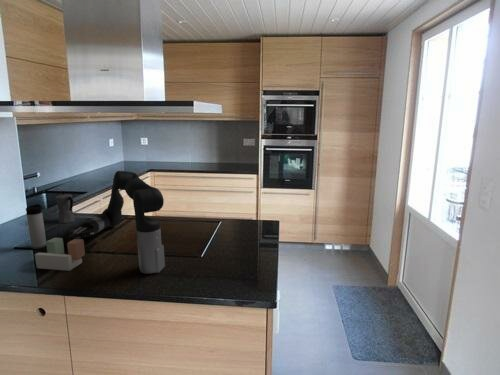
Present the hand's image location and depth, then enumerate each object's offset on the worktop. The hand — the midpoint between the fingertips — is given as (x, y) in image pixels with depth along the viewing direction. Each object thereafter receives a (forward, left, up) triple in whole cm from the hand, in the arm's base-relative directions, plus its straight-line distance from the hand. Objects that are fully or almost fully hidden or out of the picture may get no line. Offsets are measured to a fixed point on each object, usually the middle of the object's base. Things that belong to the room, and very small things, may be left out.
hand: (69, 238), depth 155 cm
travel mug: (+20, -3, -7) cm, 21 cm away
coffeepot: (+33, -40, -7) cm, 52 cm away
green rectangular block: (0, +9, -4) cm, 10 cm away
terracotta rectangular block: (-10, +9, -4) cm, 14 cm away
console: (-5, +13, -6) cm, 15 cm away
